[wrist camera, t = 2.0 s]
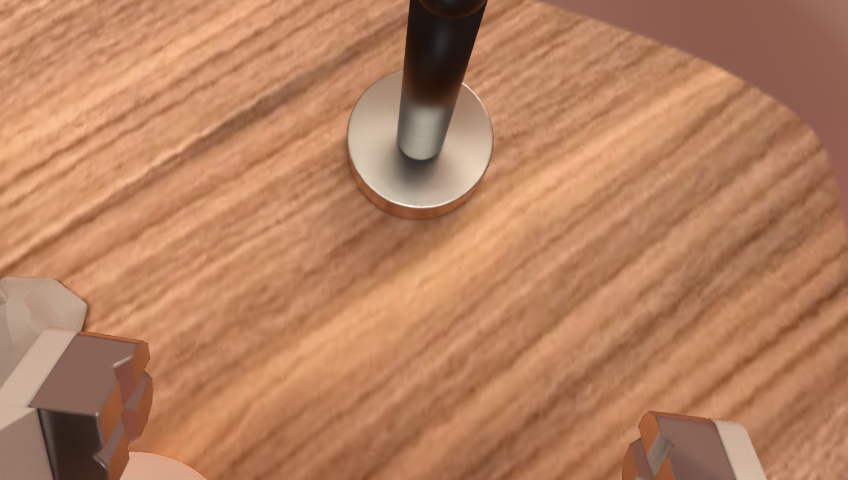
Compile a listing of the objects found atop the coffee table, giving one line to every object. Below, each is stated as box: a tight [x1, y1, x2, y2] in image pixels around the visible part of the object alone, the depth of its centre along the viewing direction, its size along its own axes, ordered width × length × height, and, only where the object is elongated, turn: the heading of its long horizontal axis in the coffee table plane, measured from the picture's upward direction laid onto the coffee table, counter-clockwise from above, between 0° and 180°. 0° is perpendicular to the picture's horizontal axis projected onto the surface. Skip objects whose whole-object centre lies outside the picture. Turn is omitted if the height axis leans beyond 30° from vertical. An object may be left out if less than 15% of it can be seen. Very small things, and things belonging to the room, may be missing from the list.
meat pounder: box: [347, 0, 494, 220], centre depth 22 cm, size 6×6×14 cm
